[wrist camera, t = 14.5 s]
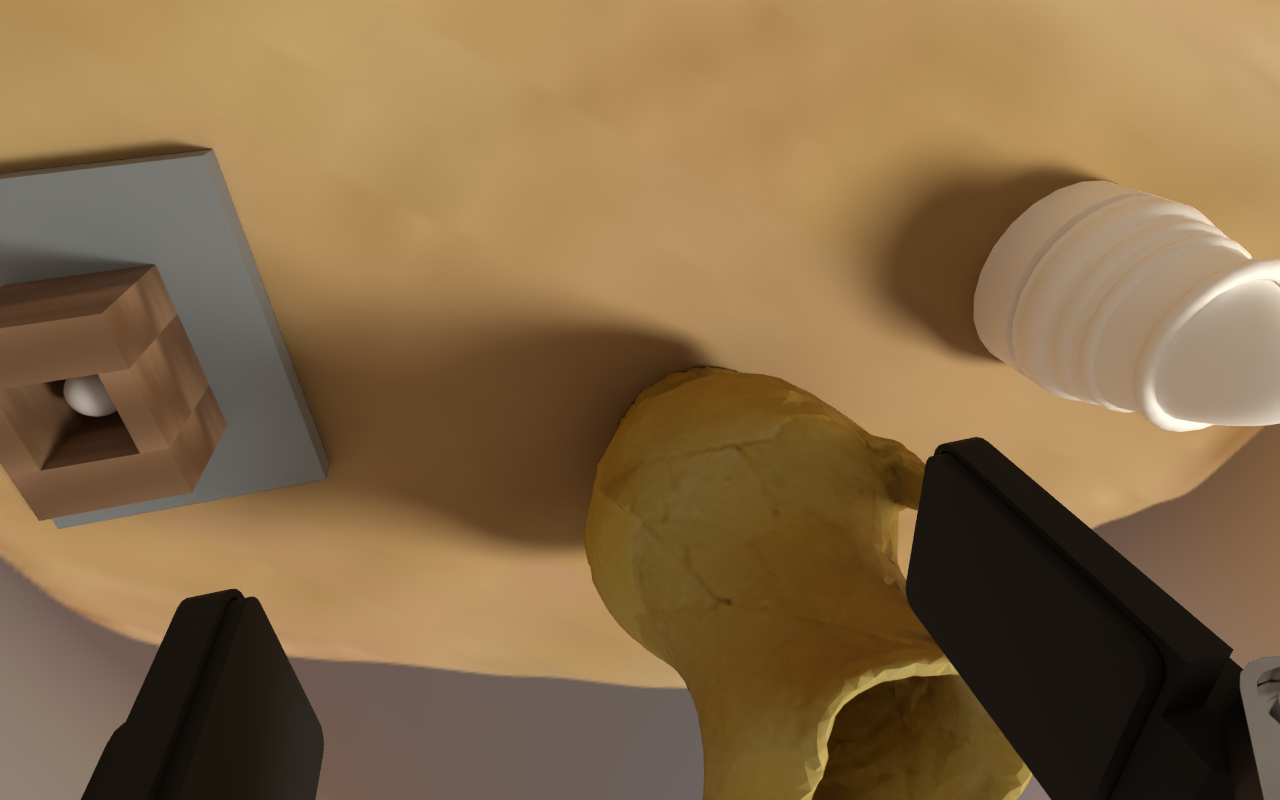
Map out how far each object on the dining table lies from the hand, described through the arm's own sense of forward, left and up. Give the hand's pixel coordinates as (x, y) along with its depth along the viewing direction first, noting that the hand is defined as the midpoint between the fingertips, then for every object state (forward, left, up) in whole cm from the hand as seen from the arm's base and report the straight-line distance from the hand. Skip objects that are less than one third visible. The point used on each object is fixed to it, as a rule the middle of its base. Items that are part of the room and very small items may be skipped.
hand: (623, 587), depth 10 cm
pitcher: (+20, +10, -31) cm, 38 cm away
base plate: (+7, -20, -30) cm, 37 cm away
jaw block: (+7, -20, -29) cm, 36 cm away
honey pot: (+12, +35, -31) cm, 48 cm away
